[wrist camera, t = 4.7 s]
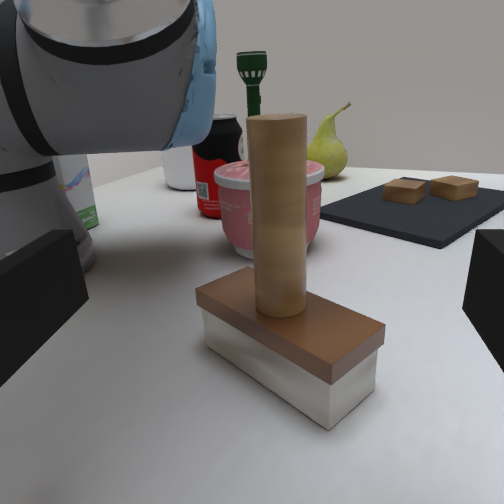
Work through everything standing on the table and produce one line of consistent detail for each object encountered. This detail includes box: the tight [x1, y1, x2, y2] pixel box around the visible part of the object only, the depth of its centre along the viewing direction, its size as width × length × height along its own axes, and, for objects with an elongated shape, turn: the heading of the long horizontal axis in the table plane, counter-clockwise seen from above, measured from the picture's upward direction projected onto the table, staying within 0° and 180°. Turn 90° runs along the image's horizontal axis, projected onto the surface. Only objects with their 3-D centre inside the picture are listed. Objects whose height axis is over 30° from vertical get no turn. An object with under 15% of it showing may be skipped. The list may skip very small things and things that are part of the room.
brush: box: [195, 114, 386, 430], centre depth 22 cm, size 10×4×14 cm, turn 42°
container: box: [214, 160, 324, 259], centre depth 40 cm, size 10×10×8 cm
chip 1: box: [383, 179, 426, 204], centre depth 52 cm, size 4×4×2 cm
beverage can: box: [191, 114, 244, 218], centre depth 51 cm, size 6×6×12 cm
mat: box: [320, 177, 504, 249], centre depth 51 cm, size 16×22×1 cm
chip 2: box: [429, 176, 479, 201], centre depth 52 cm, size 4×4×2 cm
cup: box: [161, 146, 196, 190], centre depth 67 cm, size 10×10×10 cm
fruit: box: [307, 102, 351, 179], centre depth 66 cm, size 7×8×12 cm
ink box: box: [52, 154, 99, 229], centre depth 48 cm, size 9×5×12 cm, turn 71°
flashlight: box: [237, 51, 267, 117], centre depth 72 cm, size 5×5×20 cm
